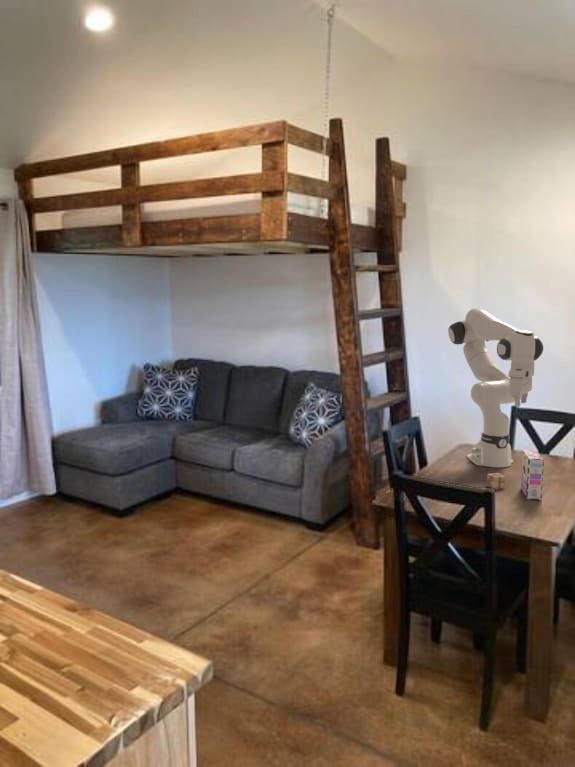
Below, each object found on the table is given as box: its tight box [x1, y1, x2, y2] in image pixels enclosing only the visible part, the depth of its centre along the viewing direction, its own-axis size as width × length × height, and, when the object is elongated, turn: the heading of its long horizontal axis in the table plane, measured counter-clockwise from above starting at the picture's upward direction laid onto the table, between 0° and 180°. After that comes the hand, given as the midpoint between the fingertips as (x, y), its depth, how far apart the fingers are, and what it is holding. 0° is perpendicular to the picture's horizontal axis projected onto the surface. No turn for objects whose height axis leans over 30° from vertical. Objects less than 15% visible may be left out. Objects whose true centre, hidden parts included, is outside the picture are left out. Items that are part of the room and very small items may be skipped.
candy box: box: [520, 449, 545, 501], centre depth 244 cm, size 14×6×16 cm, turn 168°
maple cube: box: [486, 472, 506, 490], centre depth 255 cm, size 5×5×5 cm
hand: (520, 404), depth 252 cm, fingers open, 8 cm apart
